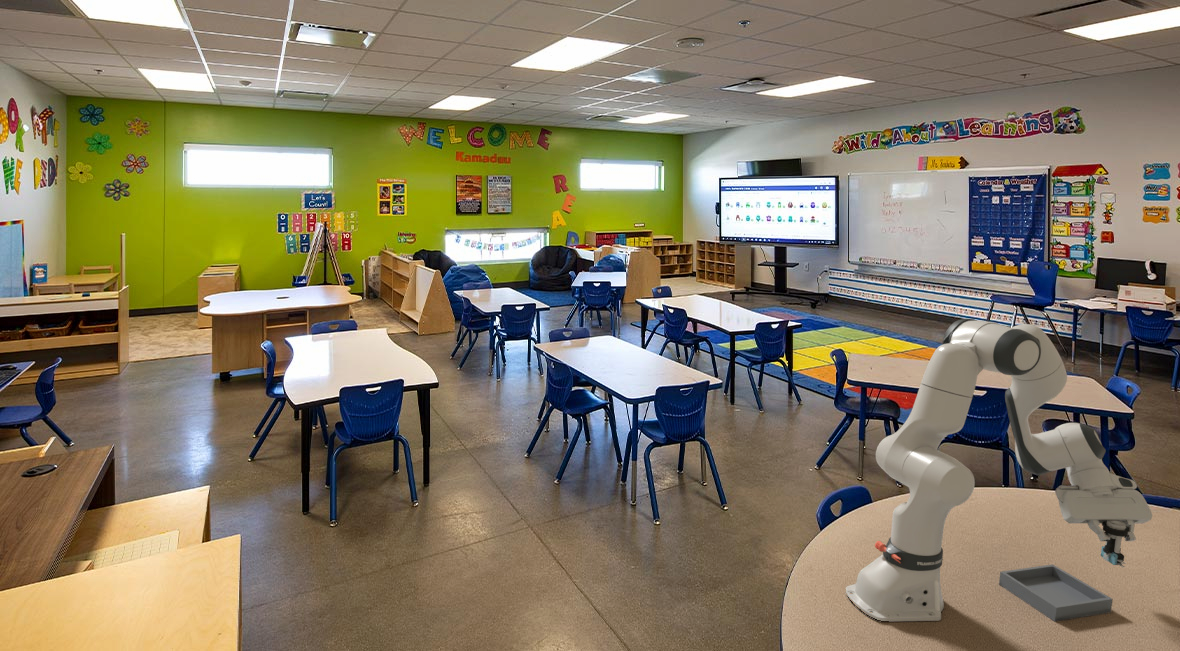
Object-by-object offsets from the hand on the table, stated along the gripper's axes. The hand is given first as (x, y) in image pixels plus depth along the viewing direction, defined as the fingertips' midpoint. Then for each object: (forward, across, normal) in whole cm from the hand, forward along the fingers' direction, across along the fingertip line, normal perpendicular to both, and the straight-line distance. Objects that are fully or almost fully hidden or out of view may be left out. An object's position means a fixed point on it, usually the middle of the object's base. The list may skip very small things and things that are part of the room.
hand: (1118, 540), depth 162 cm
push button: (+4, 0, +5) cm, 6 cm away
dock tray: (+11, -14, +11) cm, 21 cm away
